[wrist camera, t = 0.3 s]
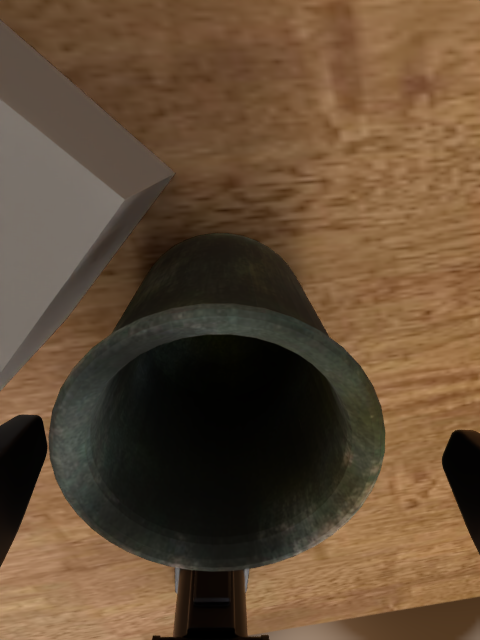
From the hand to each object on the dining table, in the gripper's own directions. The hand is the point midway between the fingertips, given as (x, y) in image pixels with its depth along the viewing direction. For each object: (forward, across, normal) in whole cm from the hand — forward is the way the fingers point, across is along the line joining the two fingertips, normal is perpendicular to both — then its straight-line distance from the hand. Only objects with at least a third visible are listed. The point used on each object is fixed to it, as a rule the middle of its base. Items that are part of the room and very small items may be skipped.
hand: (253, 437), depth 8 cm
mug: (+15, 0, +5) cm, 16 cm away
